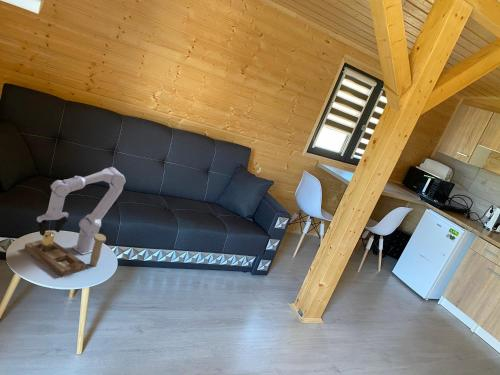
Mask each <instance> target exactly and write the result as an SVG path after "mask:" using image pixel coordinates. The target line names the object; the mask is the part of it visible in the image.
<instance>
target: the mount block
mask: <svg viewBox="0 0 500 375" xmlns="http://www.w3.org/2000/svg"><path fill="white" fill-rule="evenodd" d="M42 240H43V239H40V240H35V241H31V242H26V243H25V244H24V251H25V252H27V253H28V254H30V255H31V256H32V257H34V258H35V259H36V260H37V261H39V262H40V263H41V264H43V265H44V266H46V267H47V268H48V269H50V270H51V271H52V270H53V271H52V272H54V273H55V274H56V273H57V274H56V275H58V276H59V277H60V276H61V277H60V278H63V277H65V276H69V275H72V274H74V273H77V272H80V271H83V270H85V268H86V263H85V262H84V261H82V259H79V257H77V256H75V255H74V254H73V253H72V252H70V251H69V250H67V249H65V248H64V247H63V246H61V245H60V244H58V243H57V242H56V241H54V240H53V244H52V249H51V251H48V252H43V251H42V250H41V245H42Z"/></svg>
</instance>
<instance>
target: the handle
mask: <svg viewBox="0 0 500 375" xmlns="http://www.w3.org/2000/svg"><path fill="white" fill-rule="evenodd" d="M94 240H95V244H94V247H93V250H92V252H91V255H90V258H89V259H90V261H89V265H90V266H92V267H96V266H97V265H98V262H99V260H100V258H101V252H102V247H103V243H105V242H106V240H107V237H106V235H104V234H102V233H98V234H95V235H94Z"/></svg>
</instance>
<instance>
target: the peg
mask: <svg viewBox="0 0 500 375" xmlns="http://www.w3.org/2000/svg"><path fill="white" fill-rule="evenodd" d="M41 240H42V245H41V249H40V250H42V251H43V252H48V251H51V249H52V244H53V241H54V240H55V233H54V232H52V231H45V234H44V236H42V239H41Z"/></svg>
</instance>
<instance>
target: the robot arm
mask: <svg viewBox="0 0 500 375" xmlns="http://www.w3.org/2000/svg"><path fill="white" fill-rule="evenodd" d="M99 182H105V183H108V184H109V188H108V190H107V192H106V193H105V194H104V196H103V197H102V199H101V200H100V201H99V203H98V204H97V206H96V207H95V208H94V210H93V211H92V212H91V213H89V214H87V215H86V216H84V217H83V218H82V219H80V221H79V223H78V227H79V228H80V229H79V233H78V238H77V241H76V244H75V245H73V246H71V248H72V249H73V250H75V251H76V252H78V253H79V254H81V255H86V254H89V253H92V250H93V247H94V244H95V240H94V235H95V234H99V232H100V229H101V227H102V220H103V218H104V216H105V215H106V214H107V212H108V211H109V210H110V208H111V207H112V205H114V203H115V202H116V200H117V199H118V197H119V196H120V195H121V194H122V191H123V190H124V185H125V184H126V182H127V181H126V177H125V176H124V174H123V173H121V172H119V170H117V169H116V168H115V167H113V166H111V167H107V168H104V169H103V170H101V171H98V172H95V173H92V174H90V175H87V176H80V175H74V177H71V178H68V179H63V180H60V179H57V180H55V181H54V182H52V184H50V189H51V193H50V194H51V195H50V199H49V203H48V208H47V211H46V213H44V214H42V215H40V216H37V218H36V222H37V224H38V229H39V234H40V235H41V236H42V237H43V236H44V234H45V232H47V231H46V230H47V229H48V227H49V223H48V221H53V220H55V226H54V232H56V233H60V231H61V229H63V226H64V225H65V223H68V218H69V212H66V211H64V212H63V208H64V204H65V199H66V196H68V195H69V193H71V192H74V191H77V190H81V189H83V188H84V189H85V186H86V185H89V184H95V183H99Z"/></svg>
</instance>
